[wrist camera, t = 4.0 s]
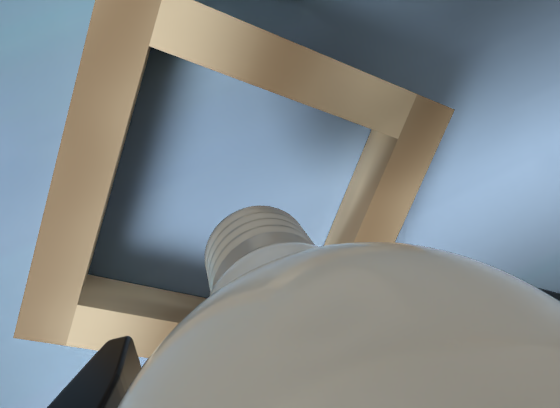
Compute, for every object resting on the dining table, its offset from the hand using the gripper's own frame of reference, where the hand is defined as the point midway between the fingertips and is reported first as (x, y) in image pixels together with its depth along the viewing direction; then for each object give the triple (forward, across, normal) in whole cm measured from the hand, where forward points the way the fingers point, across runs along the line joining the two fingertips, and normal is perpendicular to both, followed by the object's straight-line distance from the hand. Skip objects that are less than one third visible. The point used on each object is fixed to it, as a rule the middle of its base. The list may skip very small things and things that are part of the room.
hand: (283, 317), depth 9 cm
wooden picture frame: (+8, 0, 0) cm, 8 cm away
